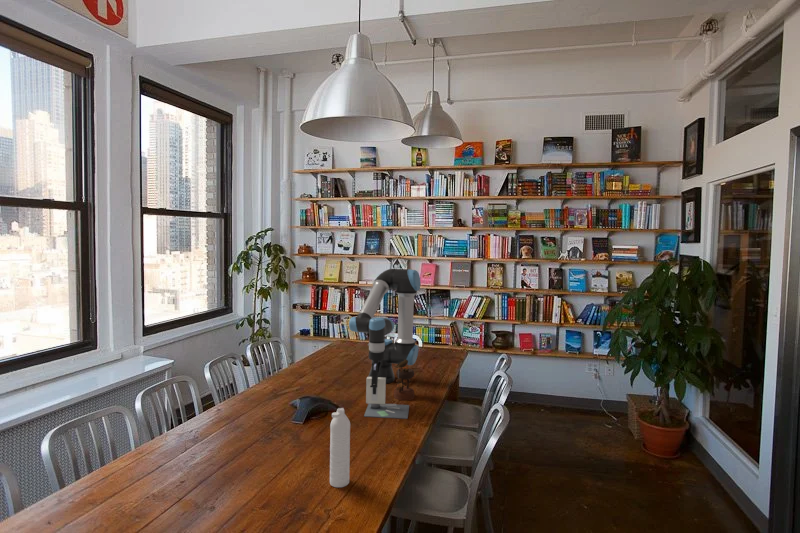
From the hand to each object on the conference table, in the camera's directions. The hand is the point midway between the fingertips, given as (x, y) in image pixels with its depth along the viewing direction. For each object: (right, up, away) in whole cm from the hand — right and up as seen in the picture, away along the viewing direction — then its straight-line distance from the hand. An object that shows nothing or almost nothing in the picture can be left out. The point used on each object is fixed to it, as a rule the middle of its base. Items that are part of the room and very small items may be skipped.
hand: (375, 396), depth 214 cm
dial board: (+6, -6, -3) cm, 9 cm away
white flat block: (+3, -5, 0) cm, 6 cm away
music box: (+14, -5, +17) cm, 23 cm away
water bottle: (-9, -9, -67) cm, 68 cm away
